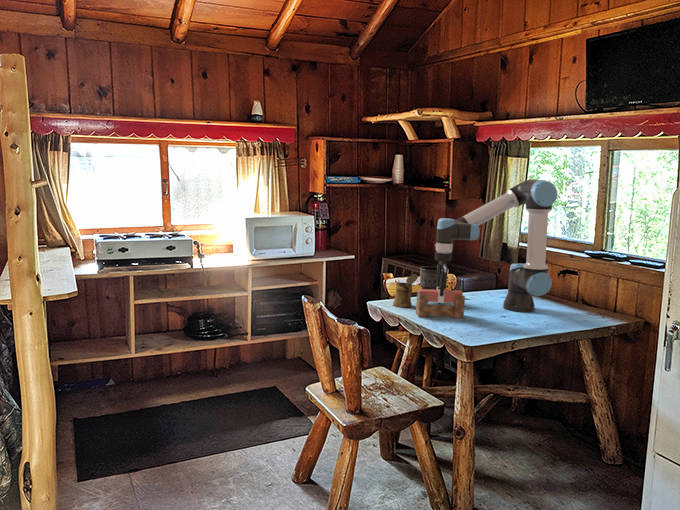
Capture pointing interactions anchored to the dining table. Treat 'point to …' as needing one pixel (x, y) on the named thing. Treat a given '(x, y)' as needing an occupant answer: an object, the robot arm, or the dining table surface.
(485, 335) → the dining table surface
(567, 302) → the dining table surface
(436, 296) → the rail
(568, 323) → the dining table surface
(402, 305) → the brown jug
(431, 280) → the planter
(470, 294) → the dining table surface
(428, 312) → the wooden cradle
